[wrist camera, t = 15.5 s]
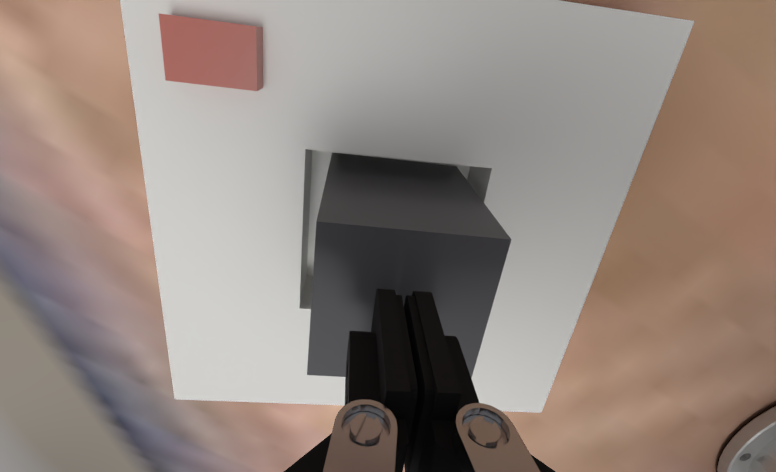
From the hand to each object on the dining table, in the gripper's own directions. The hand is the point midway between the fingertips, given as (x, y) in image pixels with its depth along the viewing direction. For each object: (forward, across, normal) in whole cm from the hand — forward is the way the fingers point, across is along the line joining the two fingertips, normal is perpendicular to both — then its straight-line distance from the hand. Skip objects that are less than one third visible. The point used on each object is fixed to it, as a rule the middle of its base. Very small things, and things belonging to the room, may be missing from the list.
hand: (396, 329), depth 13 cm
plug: (+9, 0, 0) cm, 9 cm away
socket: (+10, 0, 0) cm, 10 cm away
